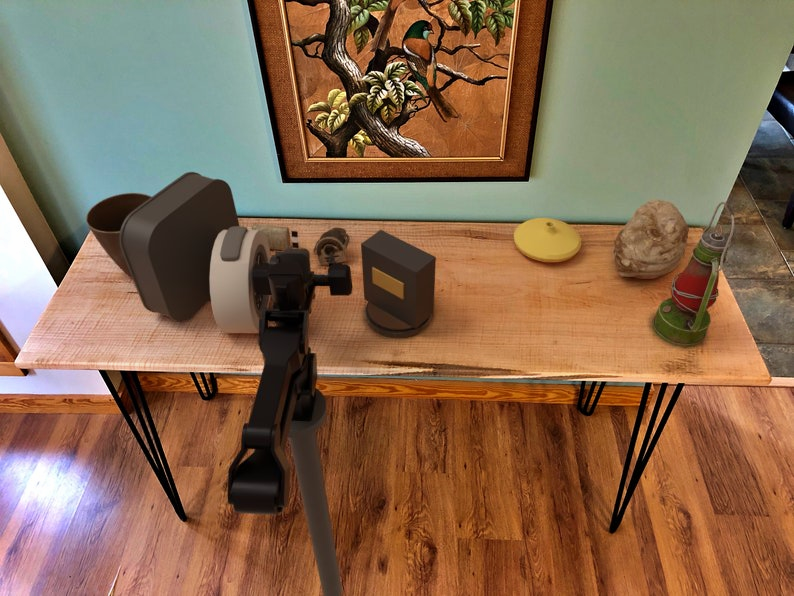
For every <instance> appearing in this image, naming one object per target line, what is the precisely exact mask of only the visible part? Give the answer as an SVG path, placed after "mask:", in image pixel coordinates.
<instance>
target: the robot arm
mask: <svg viewBox="0 0 794 596" xmlns="http://www.w3.org/2000/svg"><path fill="white" fill-rule="evenodd" d="M310 256H311V253H310V250H309V249H308V248H305V247H301V248H300V247H299V249H293V247H292V248H287V249H285V250H284V251H274V255H271V258H270V261H269V263H261V264H254V265H253V266H252V269H251V272H250V277H251V281H252V285H253V289H254V292H255V293H256V295H271V299H272V304H273V305H272V307H271V308H269V307H268V308H263V314H262V319H259V333H258V339H257V341H258V343H257V345H258V347H259V351H260V353H261V356H262V361H263V368H262V372H261V375H260V379H259V382H258V386H257V390H256V393H255V397H254V400H253V404H252V408H251V411H250V415H249V417H248V421H247V422H245V423H244V424H243V426H242V430H241V440H240V441H241V442H240V450H239V451H238V453H237V455H236V456H235V458H234V460H233V461H232V463H231V464H230V465H229V467H228V473H227V475H228V476H227V496H226V497H227V504H228V506H233V510H234V512H235V514H246V515H247V514H250V515H267V516H268V515H269V516H272V515H273V516H277V515H279V514H281V513H282V512H283V511H284V508H287V506H288V504H289V500H290V490H291V489H290V487H291V486H290V485H291V465H290V462H289V460H288V458H287V457H286V455H285V451H286V447H287V442H288V440H289V437H288V434H289V430H290V425H291V421H311V420H312V416H313V410H314V405H315V399H316V393H315V388H317V381H318V360H317V353H316V352H312V348H311V346H310V315H311V314H312V313H313V308H312V307H313V301H314V300H315V299H316V288H317V287H329V295H330V296H332V297H334V296H335V297H336V296H337V297H339V296H340V297H348V296H351V294H352V293H353V288H354V287H353V279H352V271H351V266H350V265H349V264H346V263H343V262H337V263H336V261H335V258H334V255H333V252H331V253H330V257H329V263H328V264H327V266H328V268H327V273H315V271H314V270H311V258H310ZM269 322H271V323H272V322H273V323H274V325H270V326H269ZM308 418H310V419H308ZM249 450H253V452H252V453H251V454H249V456H247V457H246V458H245V456H246V455H247V453H248V452H249ZM244 458H245V459H244Z"/></svg>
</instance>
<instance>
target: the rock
mask: <svg viewBox="0 0 794 596" xmlns="http://www.w3.org/2000/svg"><path fill="white" fill-rule="evenodd" d="M689 232H690V228H689V224H688V223H687V222H686V220H685V218H684V216H683V214H682V213H681V212H680V211H679V209H678V207H677V206H675V205H674V203H672V202H670V201H665V200H661V199H653V200H649V201H647V202H646V203H644V204H642V205H640V207H638V208H637V209H636V210H635V212H634V214H633V215H632V216H631V218H630V219H629V220H628V222H627V223H626V224H625V225H624V226H623V227H622V228H621V229H620V231H619V232H618V233H617V234H616V237H615V240H614V243H613V245H612V247H613V248H612V255H613V261H614V266H615V271H616V272H617V273H618V274H619V276H620V277H624V278H631V277H633V278H635V279H639V280H641V279H646V280H651V279H653V280H654V279H656V278H659V277H661V276H664V275H666V274H669V273H671V272H672V271H673V270H675V269H676V268H677V267H678V265H679V264H681V261H682V259H683V257H684V256H685V252H686V246H687V242H688V238H689Z"/></svg>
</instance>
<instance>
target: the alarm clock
mask: <svg viewBox="0 0 794 596" xmlns="http://www.w3.org/2000/svg"><path fill="white" fill-rule="evenodd" d="M271 256H272V255H271V249H269V245H268V241H267V238H266V236H265V234H264V233H263V231H262V230H252V229H248V227H247V226H243V225H242V226H241V225H239V226H234V227H230V228H229V229H228V230H222V231H221V232H220V233H219V234H218V236H217V238H216V240H215V243H214V247H213V250H212V256H211V263H210V297H211V299H210V306H211V310H212V314H213V318H214V321H215V323H216V326H217V328H218V329H219V331H220V332H222V333H225V334H259V319H262V314H263V308H269V306H270V302H271V299H272V295H256V293H255V292H254V289H253V285H252V281H251V277H250V272H251V269H252V266H253V265H254V264H261V263H269V261H270V258H271Z"/></svg>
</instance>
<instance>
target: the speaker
mask: <svg viewBox="0 0 794 596" xmlns="http://www.w3.org/2000/svg"><path fill="white" fill-rule="evenodd" d="M234 226H240V222H239V218H238V214H237V209H236V204H235V200H234V195H233V191H232V188H231V186H230V185H229V184H228V182H227V181H225V180H224V179H219V178H210V177H208V176H205V175H202V174H200V173H199V172H195V171H189V172H188V171H187V172H185V173H183V174H181V175H180V176H179V177H177V178H176V179H174V180H173V181H172V182H170V183H169V184H168V185H166V186H165V187H163V188H162V189H161V190H160V191H158V192H157V193H155V194H153V196H151V198H150V199H148V200H147V201H146V202H144V203H143V204H141V205H140V206H139V207H137V208H136V209H135V210H133V211H132V212H131V213H130V214H129V215H128V216H127V217H126V219H125V220H124V222H123V224H122V226H121V230H120V235H119V243H120V247H121V250H122V253H123V255H124V258H125V261H126V263H127V266H128V268H129V271H130V273H131V276H132V281H133V284H134V286H135V288H136V291H137V294H138V296H139V298H140V300H141V303H142V306H143V307H144V308H145V309H146V310H147V311H149V312H151V313H158V314H159V315H162V316H166V317H168V318H170V319H171V320H172V321H174V322H177V323H183V322H186V321H188V320H190V319H192V317H193V316H195V315H196V314H197V313H198V312H199V311H200V310H201V309H202V308H203V307H204V306H205V305H206V304H208V302H210V301H211V297H210V263H211V256H212V250H213V247H214V243H215V240H216V238H217V236H218V234H219V233H220V232H221V231H222V230H228V229H229V228H230V227H234Z"/></svg>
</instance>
